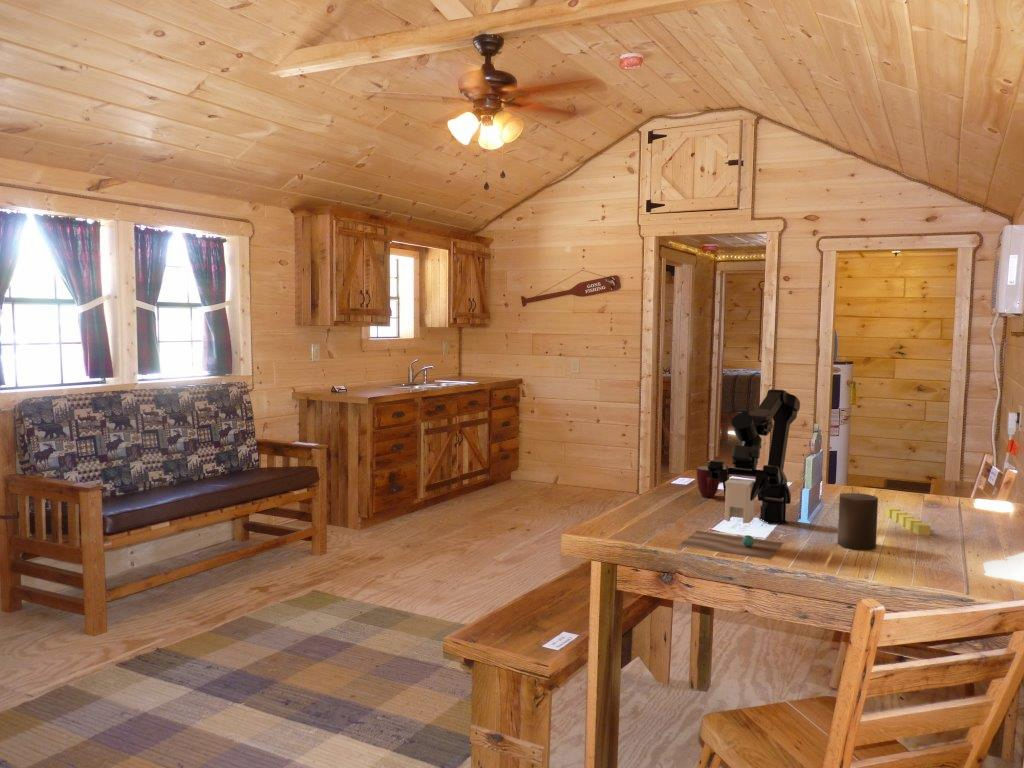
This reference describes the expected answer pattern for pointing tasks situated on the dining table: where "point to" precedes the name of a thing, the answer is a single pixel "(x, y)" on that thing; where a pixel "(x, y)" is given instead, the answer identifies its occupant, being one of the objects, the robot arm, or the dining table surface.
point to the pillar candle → (857, 521)
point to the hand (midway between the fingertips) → (738, 498)
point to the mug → (706, 482)
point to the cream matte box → (739, 499)
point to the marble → (748, 541)
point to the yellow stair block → (907, 521)
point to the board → (731, 545)
